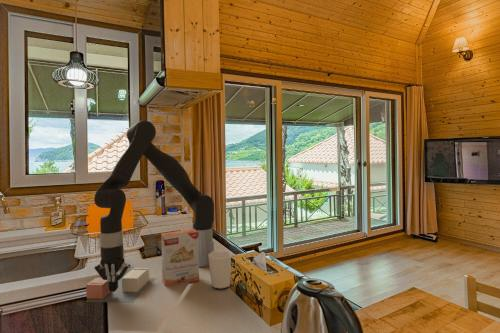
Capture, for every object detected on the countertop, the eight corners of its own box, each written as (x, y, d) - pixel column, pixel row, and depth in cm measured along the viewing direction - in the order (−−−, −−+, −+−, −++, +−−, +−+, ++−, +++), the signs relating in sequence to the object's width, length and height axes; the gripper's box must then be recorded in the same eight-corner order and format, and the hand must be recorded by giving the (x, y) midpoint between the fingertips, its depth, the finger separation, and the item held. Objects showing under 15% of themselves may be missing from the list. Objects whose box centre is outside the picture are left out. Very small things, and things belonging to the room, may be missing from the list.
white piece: (156, 281, 121) (155, 266, 121) (132, 306, 101) (131, 288, 101) (116, 280, 122) (116, 265, 122) (86, 304, 102) (85, 286, 102)
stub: (112, 290, 109) (111, 277, 109) (102, 298, 103) (102, 284, 103) (96, 290, 110) (96, 277, 110) (86, 298, 104) (86, 284, 104)
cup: (218, 278, 122) (218, 248, 122) (238, 283, 117) (238, 252, 117) (203, 288, 114) (202, 256, 113) (224, 294, 109) (223, 260, 108)
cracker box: (165, 289, 113) (163, 236, 112) (162, 283, 118) (160, 232, 117) (200, 281, 119) (198, 231, 119) (195, 276, 125) (194, 228, 124)
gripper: (134, 240, 109) (135, 286, 109) (100, 240, 110) (102, 285, 110) (124, 247, 101) (125, 296, 102) (87, 246, 102) (89, 295, 103)
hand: (113, 290), depth 106 cm, fingers closed
